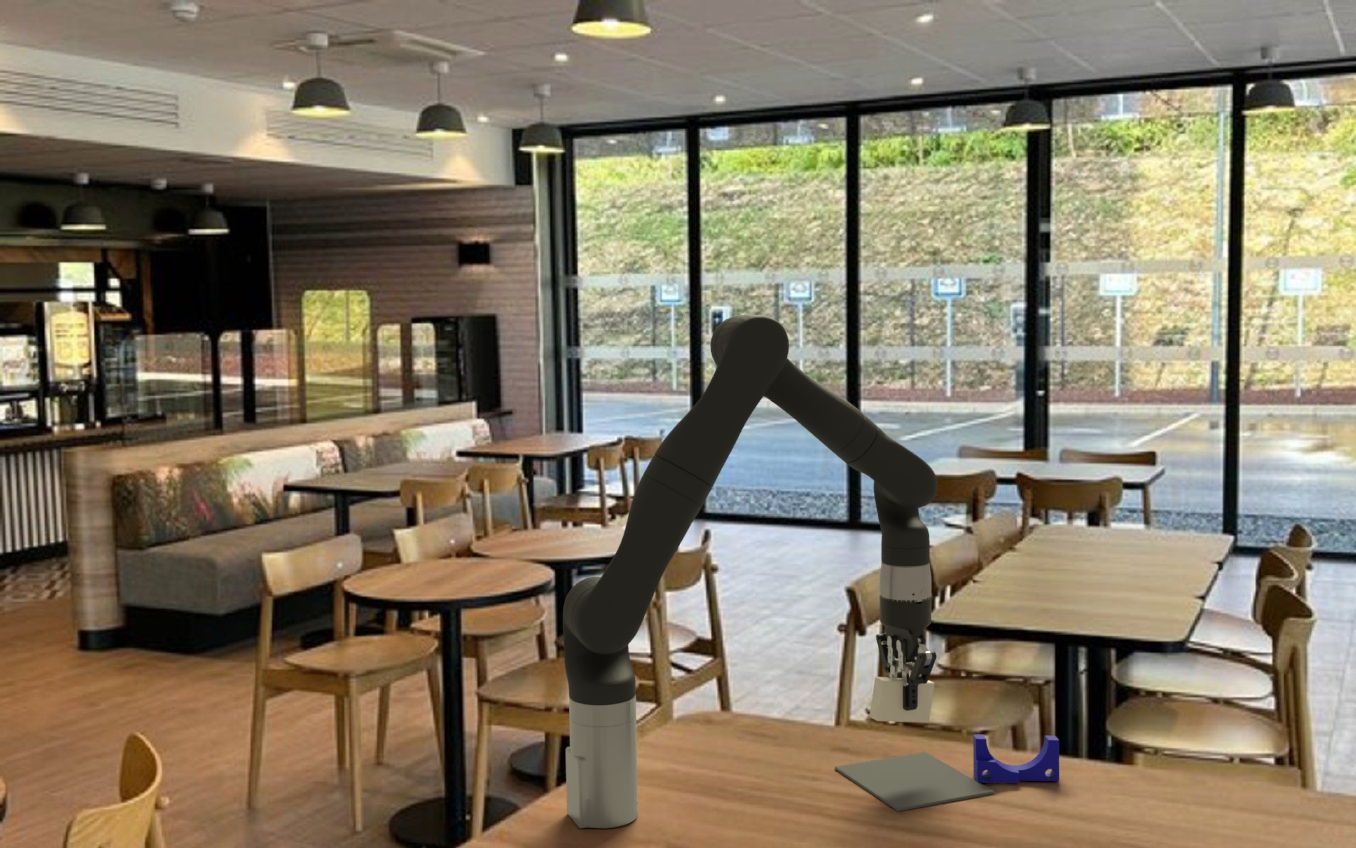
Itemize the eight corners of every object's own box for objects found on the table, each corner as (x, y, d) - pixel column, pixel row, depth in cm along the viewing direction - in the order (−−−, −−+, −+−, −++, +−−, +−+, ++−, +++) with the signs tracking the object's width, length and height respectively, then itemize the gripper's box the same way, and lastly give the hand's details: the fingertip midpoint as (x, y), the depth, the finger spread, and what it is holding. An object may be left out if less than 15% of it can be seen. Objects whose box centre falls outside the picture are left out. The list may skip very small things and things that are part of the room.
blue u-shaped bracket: (977, 782, 193) (977, 741, 193) (973, 774, 198) (973, 734, 198) (1061, 784, 192) (1061, 742, 192) (1055, 776, 197) (1055, 735, 197)
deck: (877, 721, 193) (883, 680, 193) (869, 716, 195) (875, 676, 195) (928, 722, 197) (934, 683, 196) (920, 718, 199) (926, 679, 198)
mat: (897, 811, 184) (897, 808, 184) (835, 769, 201) (834, 766, 201) (993, 793, 190) (993, 791, 190) (925, 754, 207) (925, 752, 206)
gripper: (859, 585, 199) (859, 697, 201) (908, 605, 187) (908, 724, 188) (902, 581, 202) (902, 691, 204) (953, 599, 189) (953, 717, 191)
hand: (905, 706), depth 196 cm, fingers closed on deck, 2 cm apart
